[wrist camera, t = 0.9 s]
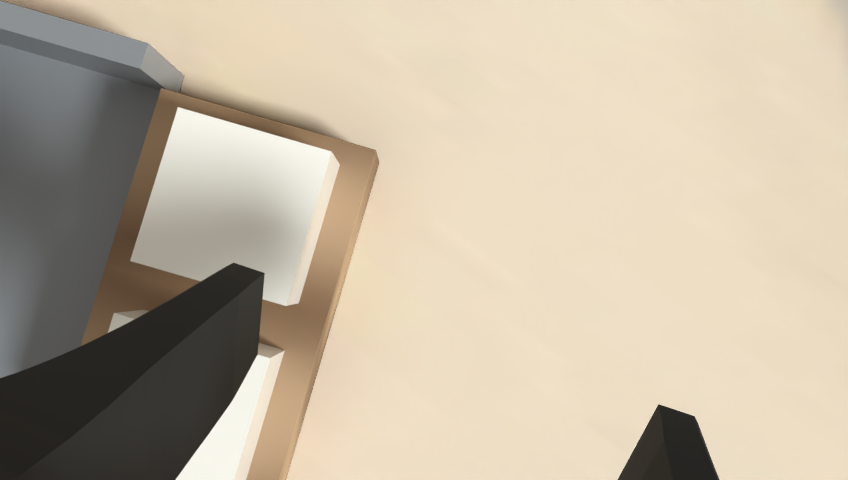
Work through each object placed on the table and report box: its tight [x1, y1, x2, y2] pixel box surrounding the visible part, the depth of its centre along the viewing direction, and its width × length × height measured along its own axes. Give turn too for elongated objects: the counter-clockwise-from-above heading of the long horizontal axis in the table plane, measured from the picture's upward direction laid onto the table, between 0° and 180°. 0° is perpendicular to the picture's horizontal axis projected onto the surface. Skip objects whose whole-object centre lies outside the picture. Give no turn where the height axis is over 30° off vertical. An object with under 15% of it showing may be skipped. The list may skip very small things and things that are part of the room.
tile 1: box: [130, 107, 340, 306], centre depth 22 cm, size 4×4×2 cm
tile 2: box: [108, 310, 285, 480], centre depth 22 cm, size 4×4×2 cm
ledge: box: [81, 88, 379, 480], centre depth 25 cm, size 12×7×2 cm, turn 164°
